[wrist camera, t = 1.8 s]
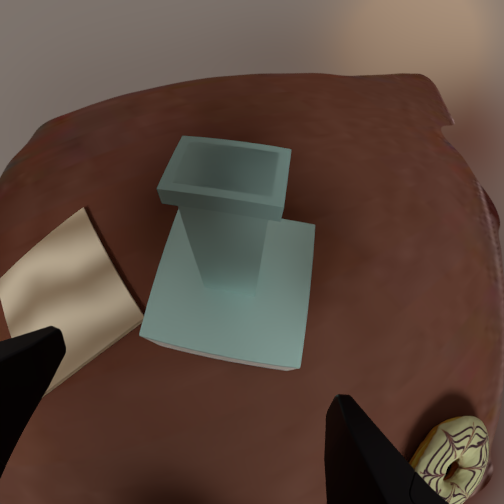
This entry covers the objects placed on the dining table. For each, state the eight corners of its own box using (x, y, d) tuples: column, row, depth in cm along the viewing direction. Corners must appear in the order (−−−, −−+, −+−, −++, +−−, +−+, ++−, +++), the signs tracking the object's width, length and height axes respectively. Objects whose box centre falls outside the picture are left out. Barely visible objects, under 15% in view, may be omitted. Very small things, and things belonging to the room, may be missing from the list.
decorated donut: (482, 417, 17) (506, 416, 13) (450, 506, 12) (471, 513, 9) (418, 412, 18) (443, 413, 15) (376, 514, 13) (395, 529, 10)
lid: (294, 369, 17) (377, 347, 6) (147, 339, 17) (40, 276, 7) (309, 236, 21) (361, 112, 11) (184, 215, 22) (151, 87, 11)
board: (146, 319, 21) (144, 317, 20) (40, 399, 17) (36, 399, 16) (85, 210, 25) (83, 207, 25) (0, 283, 21) (-3, 281, 20)
